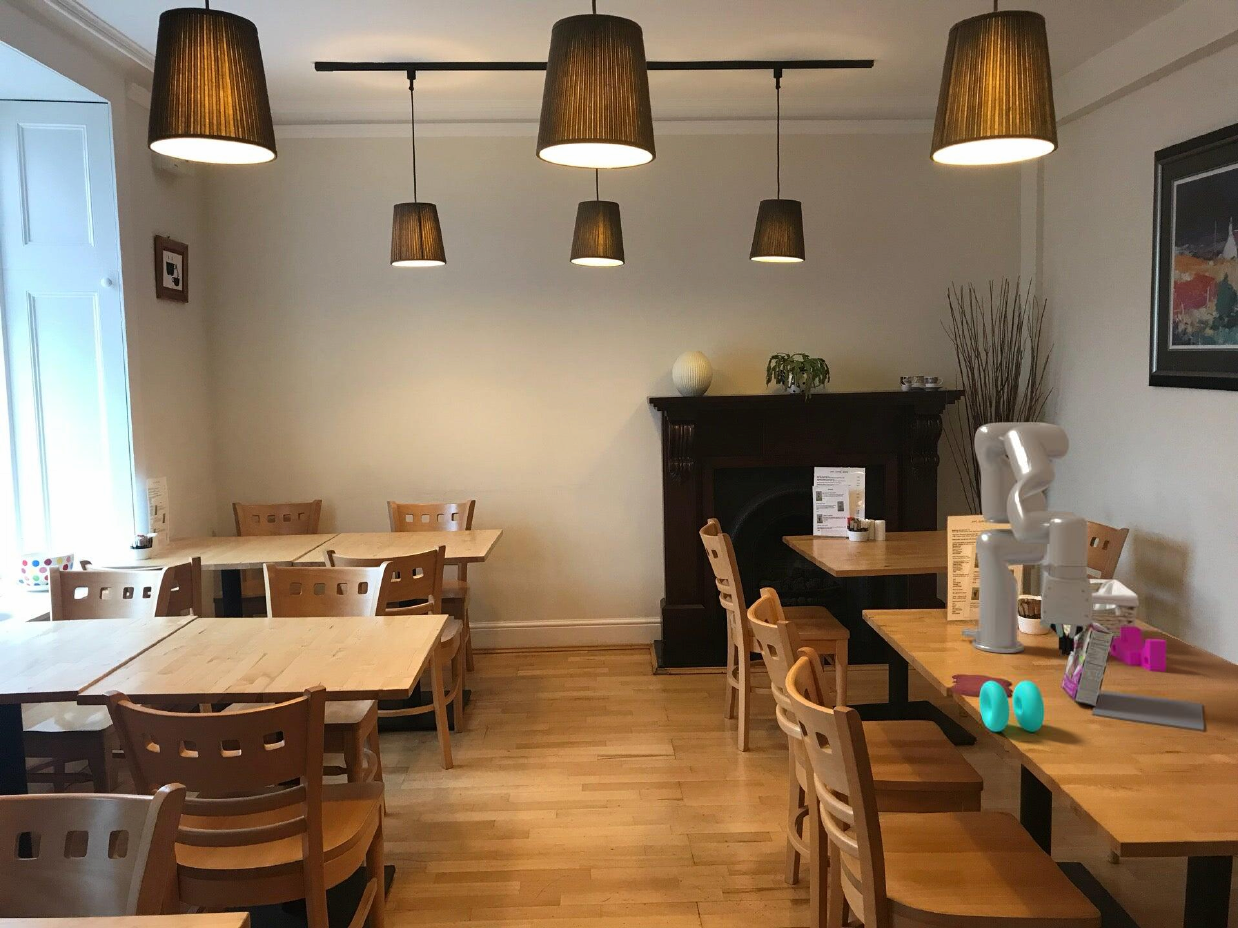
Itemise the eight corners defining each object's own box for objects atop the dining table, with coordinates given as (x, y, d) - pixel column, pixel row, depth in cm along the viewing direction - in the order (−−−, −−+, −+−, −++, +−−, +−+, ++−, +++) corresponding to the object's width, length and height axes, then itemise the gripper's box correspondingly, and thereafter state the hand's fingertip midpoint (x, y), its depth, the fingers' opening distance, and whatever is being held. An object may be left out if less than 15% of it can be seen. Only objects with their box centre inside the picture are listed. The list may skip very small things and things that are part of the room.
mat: (1091, 715, 196) (1091, 713, 196) (1098, 691, 212) (1098, 689, 212) (1203, 731, 186) (1204, 729, 186) (1201, 705, 202) (1201, 703, 202)
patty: (950, 677, 226) (950, 669, 226) (1012, 682, 221) (1012, 674, 221) (947, 699, 210) (947, 690, 210) (1014, 705, 205) (1014, 696, 204)
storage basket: (1056, 626, 272) (1056, 576, 271) (1117, 629, 267) (1118, 578, 266) (1071, 647, 249) (1072, 593, 248) (1139, 651, 244) (1140, 595, 243)
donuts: (977, 721, 194) (977, 674, 193) (1025, 721, 194) (1026, 674, 193) (994, 739, 184) (995, 689, 183) (1046, 739, 184) (1047, 689, 183)
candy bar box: (1059, 687, 212) (1076, 617, 211) (1082, 693, 211) (1100, 623, 210) (1072, 700, 201) (1091, 627, 200) (1097, 707, 200) (1116, 633, 199)
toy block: (1110, 654, 242) (1110, 626, 242) (1135, 654, 242) (1135, 626, 241) (1139, 671, 227) (1139, 641, 227) (1165, 671, 227) (1166, 641, 226)
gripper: (1028, 572, 206) (1027, 653, 207) (1104, 577, 198) (1102, 662, 199) (1033, 566, 212) (1032, 646, 213) (1107, 571, 204) (1105, 654, 206)
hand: (1066, 653), depth 206 cm, fingers closed
